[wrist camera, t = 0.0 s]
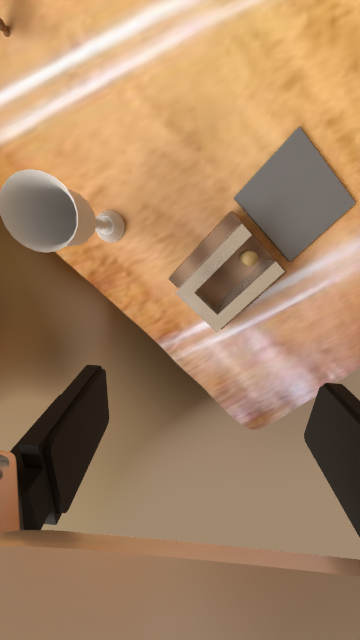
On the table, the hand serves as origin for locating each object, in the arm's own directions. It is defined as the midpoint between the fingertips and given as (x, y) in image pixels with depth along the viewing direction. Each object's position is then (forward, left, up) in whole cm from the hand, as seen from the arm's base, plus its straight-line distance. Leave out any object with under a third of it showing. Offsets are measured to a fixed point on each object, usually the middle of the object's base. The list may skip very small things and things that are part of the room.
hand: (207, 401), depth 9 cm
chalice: (+4, -17, -31) cm, 36 cm away
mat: (-19, +2, -31) cm, 37 cm away
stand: (-4, +3, -31) cm, 32 cm away
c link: (-3, +3, -28) cm, 29 cm away
